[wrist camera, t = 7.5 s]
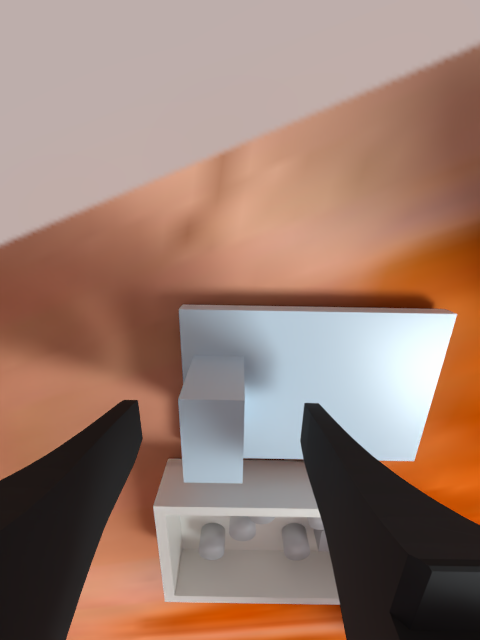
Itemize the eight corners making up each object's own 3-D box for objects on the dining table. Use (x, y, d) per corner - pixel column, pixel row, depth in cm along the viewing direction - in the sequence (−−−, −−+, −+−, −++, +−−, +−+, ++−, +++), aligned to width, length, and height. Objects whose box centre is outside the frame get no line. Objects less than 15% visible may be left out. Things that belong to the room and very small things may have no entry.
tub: (346, 549, 19) (364, 605, 17) (176, 546, 19) (165, 601, 17) (365, 461, 17) (390, 510, 14) (168, 458, 17) (153, 506, 14)
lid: (405, 450, 16) (462, 526, 12) (190, 446, 16) (172, 521, 12) (444, 308, 13) (535, 346, 9) (182, 304, 13) (155, 340, 9)
